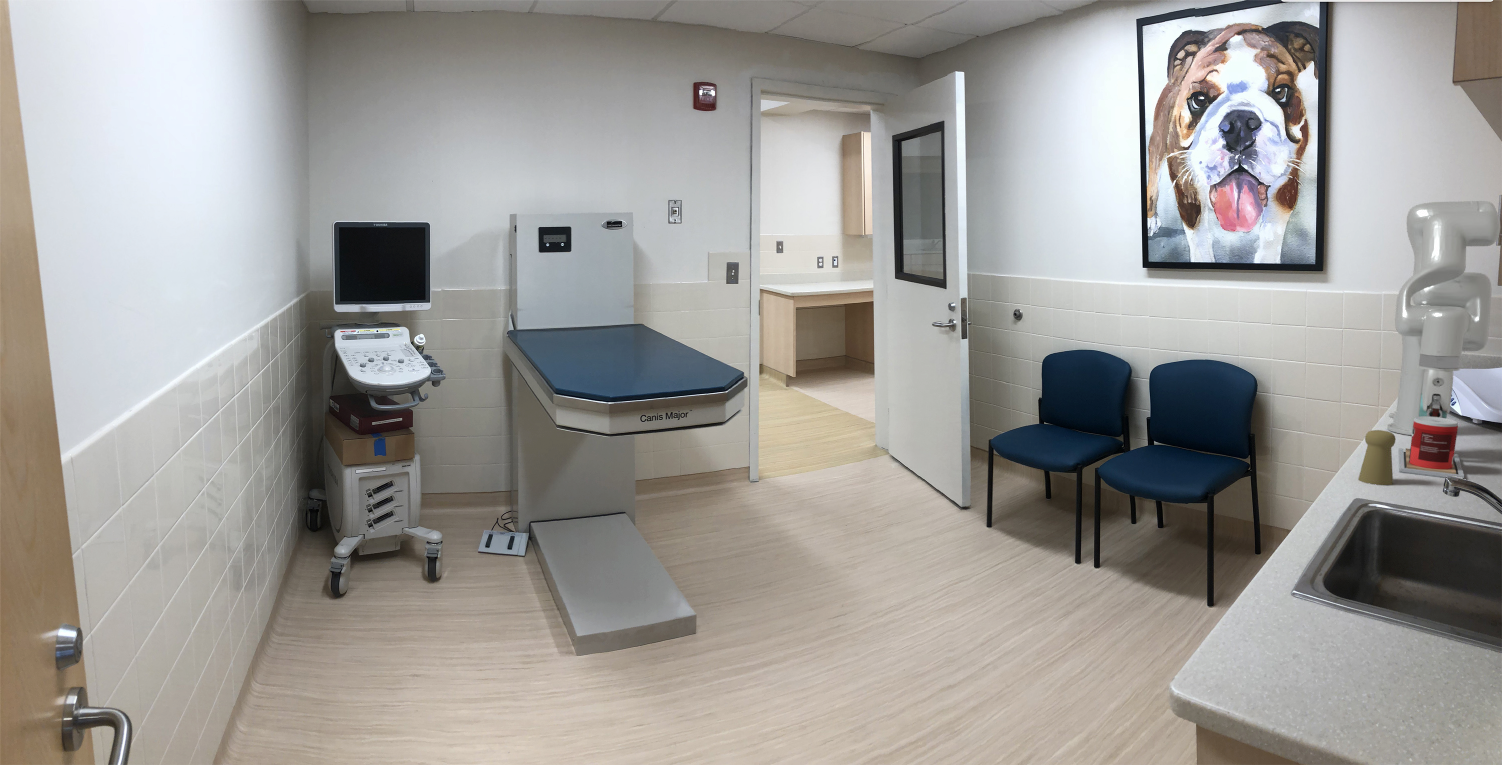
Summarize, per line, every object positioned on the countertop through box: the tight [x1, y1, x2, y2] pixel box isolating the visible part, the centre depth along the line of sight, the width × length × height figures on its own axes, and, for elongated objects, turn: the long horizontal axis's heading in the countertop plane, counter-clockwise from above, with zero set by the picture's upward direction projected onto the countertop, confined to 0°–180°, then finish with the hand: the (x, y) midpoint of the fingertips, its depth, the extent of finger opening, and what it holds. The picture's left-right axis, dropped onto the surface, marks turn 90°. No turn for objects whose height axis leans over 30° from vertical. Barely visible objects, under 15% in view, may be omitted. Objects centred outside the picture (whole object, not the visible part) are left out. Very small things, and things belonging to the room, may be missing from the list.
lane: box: [1398, 448, 1465, 479], centre depth 195 cm, size 22×11×1 cm, turn 143°
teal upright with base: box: [1405, 393, 1456, 474], centre depth 195 cm, size 21×8×14 cm, turn 143°
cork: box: [1357, 429, 1396, 486], centre depth 182 cm, size 6×6×11 cm
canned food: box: [1409, 416, 1459, 469], centre depth 190 cm, size 8×8×11 cm
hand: (1430, 434), depth 201 cm, fingers open, 9 cm apart
